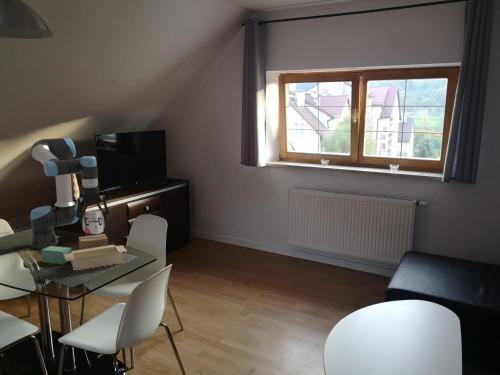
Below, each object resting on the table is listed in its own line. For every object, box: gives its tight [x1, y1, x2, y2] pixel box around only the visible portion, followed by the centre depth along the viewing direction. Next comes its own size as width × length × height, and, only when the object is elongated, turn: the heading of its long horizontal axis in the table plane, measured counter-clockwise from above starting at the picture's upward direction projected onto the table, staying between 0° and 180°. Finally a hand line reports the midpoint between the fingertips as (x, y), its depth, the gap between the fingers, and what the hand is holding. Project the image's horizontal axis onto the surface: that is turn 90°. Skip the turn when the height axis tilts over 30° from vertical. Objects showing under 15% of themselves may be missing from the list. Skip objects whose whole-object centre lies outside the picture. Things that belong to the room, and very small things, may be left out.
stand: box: [78, 233, 109, 250], centre depth 234 cm, size 10×14×10 cm
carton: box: [64, 244, 128, 270], centre depth 221 cm, size 19×30×8 cm, turn 118°
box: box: [40, 246, 72, 265], centre depth 225 cm, size 7×14×8 cm, turn 76°
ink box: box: [83, 208, 104, 235], centre depth 217 cm, size 8×5×12 cm, turn 72°
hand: (93, 228), depth 218 cm, fingers closed on ink box, 9 cm apart
